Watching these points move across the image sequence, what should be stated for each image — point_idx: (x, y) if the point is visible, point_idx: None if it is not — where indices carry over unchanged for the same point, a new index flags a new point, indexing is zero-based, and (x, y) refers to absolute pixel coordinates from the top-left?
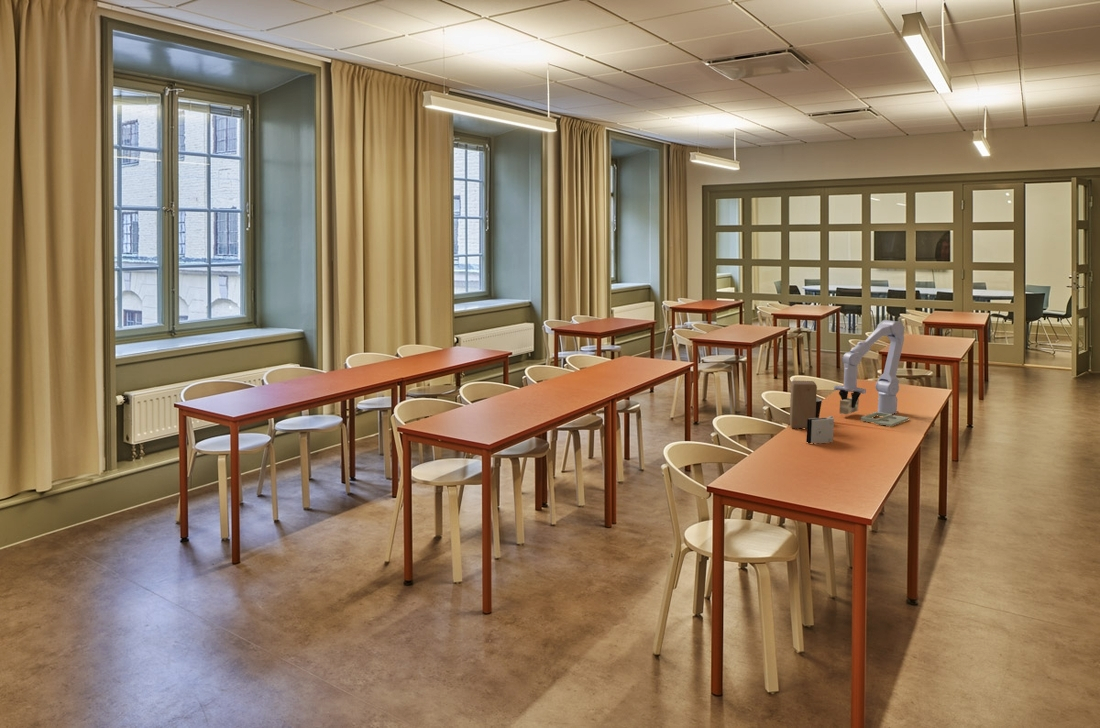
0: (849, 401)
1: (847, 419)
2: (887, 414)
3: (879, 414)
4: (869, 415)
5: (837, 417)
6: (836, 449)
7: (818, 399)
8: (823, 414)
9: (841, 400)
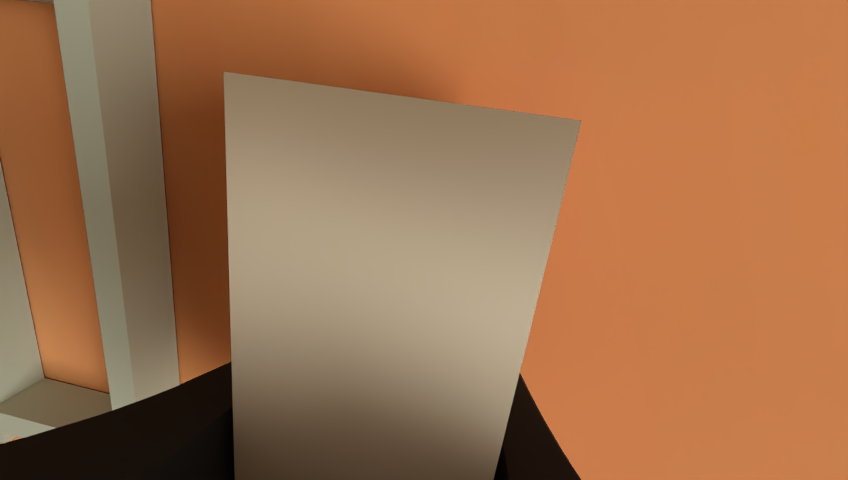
0: (243, 266)
1: (358, 12)
2: (14, 409)
3: None
4: (87, 216)
5: (548, 75)
6: None
7: None
8: (844, 193)
9: (523, 183)
